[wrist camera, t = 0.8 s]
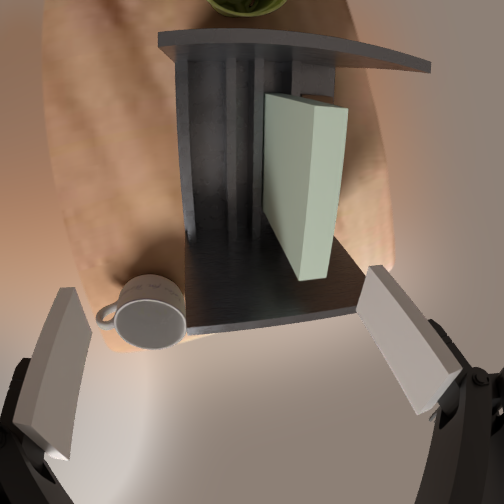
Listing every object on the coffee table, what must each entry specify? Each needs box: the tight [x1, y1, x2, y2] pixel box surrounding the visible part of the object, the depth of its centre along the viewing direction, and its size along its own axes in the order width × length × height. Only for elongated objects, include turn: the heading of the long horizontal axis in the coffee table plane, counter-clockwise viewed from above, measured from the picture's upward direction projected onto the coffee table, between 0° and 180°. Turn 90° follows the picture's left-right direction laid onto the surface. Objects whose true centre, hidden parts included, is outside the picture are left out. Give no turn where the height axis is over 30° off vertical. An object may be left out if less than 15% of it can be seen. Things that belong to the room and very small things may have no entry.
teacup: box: [96, 274, 187, 350], centre depth 44 cm, size 14×11×8 cm
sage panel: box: [261, 92, 348, 281], centre depth 29 cm, size 14×2×18 cm, turn 179°
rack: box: [158, 28, 431, 335], centre depth 30 cm, size 24×20×20 cm
